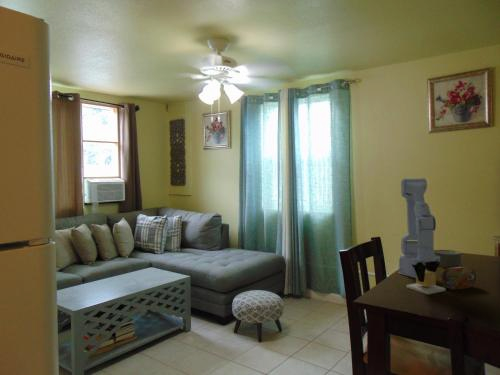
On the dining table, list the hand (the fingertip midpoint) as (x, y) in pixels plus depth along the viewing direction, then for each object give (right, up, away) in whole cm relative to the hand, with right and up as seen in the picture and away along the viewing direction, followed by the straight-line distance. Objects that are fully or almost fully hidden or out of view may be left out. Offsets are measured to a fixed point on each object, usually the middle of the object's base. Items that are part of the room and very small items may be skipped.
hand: (425, 280), depth 145 cm
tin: (+14, -4, +1) cm, 14 cm away
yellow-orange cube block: (0, -1, 0) cm, 1 cm away
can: (+30, -3, +38) cm, 48 cm away
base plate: (0, -3, 0) cm, 3 cm away
